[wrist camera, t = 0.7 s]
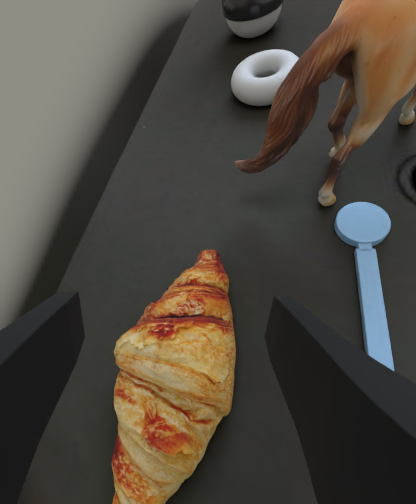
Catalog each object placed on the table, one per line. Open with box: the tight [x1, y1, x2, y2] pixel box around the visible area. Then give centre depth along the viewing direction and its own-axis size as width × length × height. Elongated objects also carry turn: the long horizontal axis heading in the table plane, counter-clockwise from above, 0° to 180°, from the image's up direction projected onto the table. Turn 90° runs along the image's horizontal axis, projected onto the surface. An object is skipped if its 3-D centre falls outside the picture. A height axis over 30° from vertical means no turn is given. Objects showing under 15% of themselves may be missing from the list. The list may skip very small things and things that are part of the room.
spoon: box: [334, 202, 394, 371], centre depth 23 cm, size 17×5×1 cm, turn 172°
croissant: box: [112, 250, 236, 504], centre depth 21 cm, size 21×10×8 cm, turn 164°
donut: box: [231, 49, 299, 106], centre depth 38 cm, size 10×4×10 cm
